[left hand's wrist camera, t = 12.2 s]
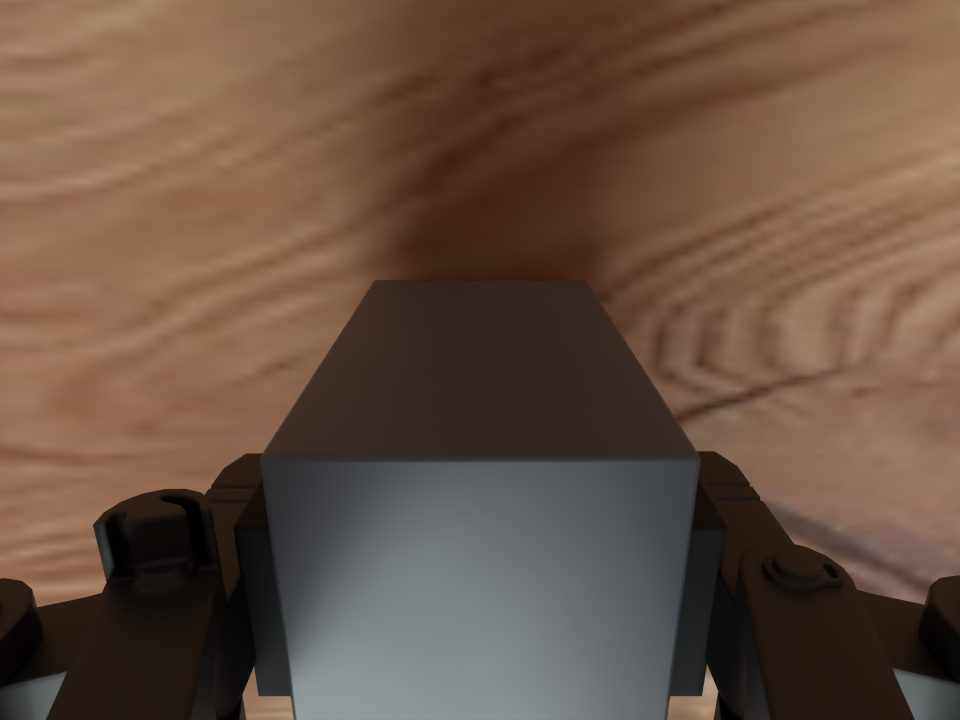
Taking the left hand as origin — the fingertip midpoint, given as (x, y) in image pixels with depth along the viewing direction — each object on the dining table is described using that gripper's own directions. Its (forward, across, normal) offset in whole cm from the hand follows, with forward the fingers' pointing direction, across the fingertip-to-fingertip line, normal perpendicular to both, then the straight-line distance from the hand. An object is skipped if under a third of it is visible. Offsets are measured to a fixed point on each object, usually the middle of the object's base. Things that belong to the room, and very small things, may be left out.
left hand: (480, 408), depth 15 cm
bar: (+1, 0, -8) cm, 8 cm away
